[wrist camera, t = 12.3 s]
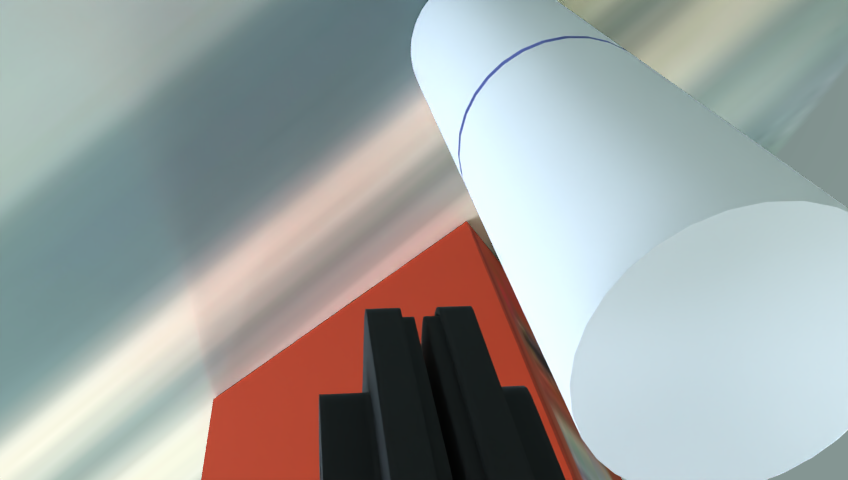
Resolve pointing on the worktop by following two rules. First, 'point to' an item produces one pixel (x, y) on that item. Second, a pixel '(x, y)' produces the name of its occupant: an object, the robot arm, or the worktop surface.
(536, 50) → the cylindrical container
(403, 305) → the file binder
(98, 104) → the worktop surface
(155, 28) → the worktop surface
